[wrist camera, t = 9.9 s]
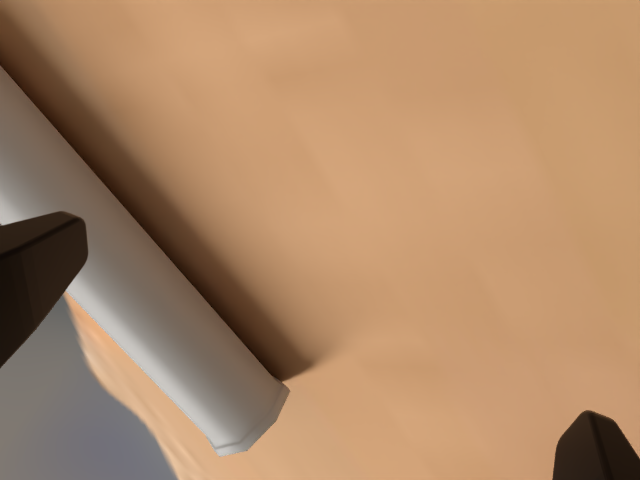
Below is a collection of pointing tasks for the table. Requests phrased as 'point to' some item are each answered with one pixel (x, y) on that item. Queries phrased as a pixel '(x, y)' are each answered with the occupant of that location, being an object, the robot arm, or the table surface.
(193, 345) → the tube
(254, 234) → the table surface
